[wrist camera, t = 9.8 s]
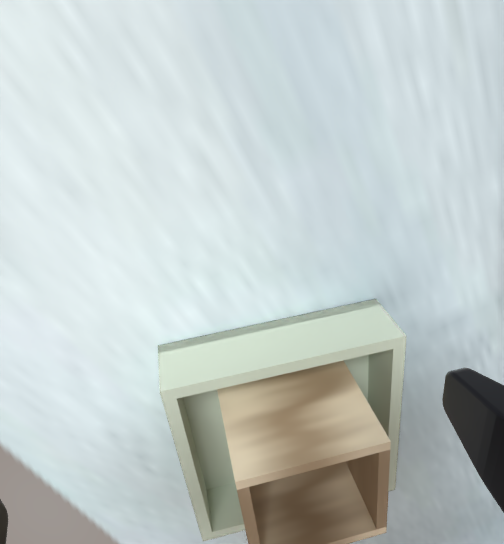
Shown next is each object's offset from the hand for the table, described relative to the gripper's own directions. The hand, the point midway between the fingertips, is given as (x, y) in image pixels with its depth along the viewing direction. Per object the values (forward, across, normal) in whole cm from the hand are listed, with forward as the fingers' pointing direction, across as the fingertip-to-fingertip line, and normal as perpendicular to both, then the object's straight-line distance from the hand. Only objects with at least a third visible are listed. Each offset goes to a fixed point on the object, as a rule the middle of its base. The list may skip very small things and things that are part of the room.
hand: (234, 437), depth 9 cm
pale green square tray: (+12, -3, +12) cm, 17 cm away
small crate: (+11, -3, +12) cm, 17 cm away
